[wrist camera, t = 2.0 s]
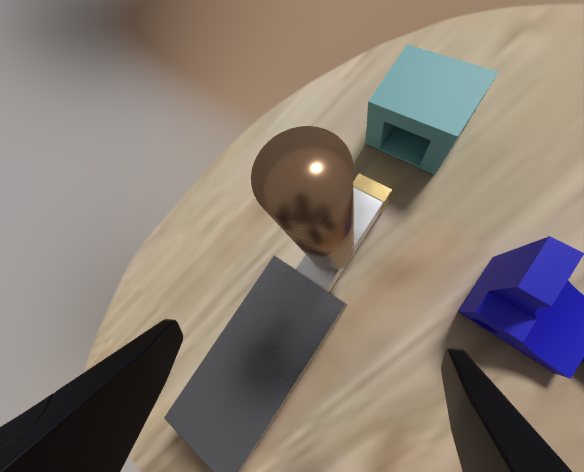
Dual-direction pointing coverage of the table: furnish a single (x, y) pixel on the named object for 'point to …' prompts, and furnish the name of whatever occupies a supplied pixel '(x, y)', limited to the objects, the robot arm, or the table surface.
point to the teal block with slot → (424, 106)
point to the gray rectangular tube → (254, 366)
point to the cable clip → (533, 304)
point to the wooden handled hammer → (317, 198)
